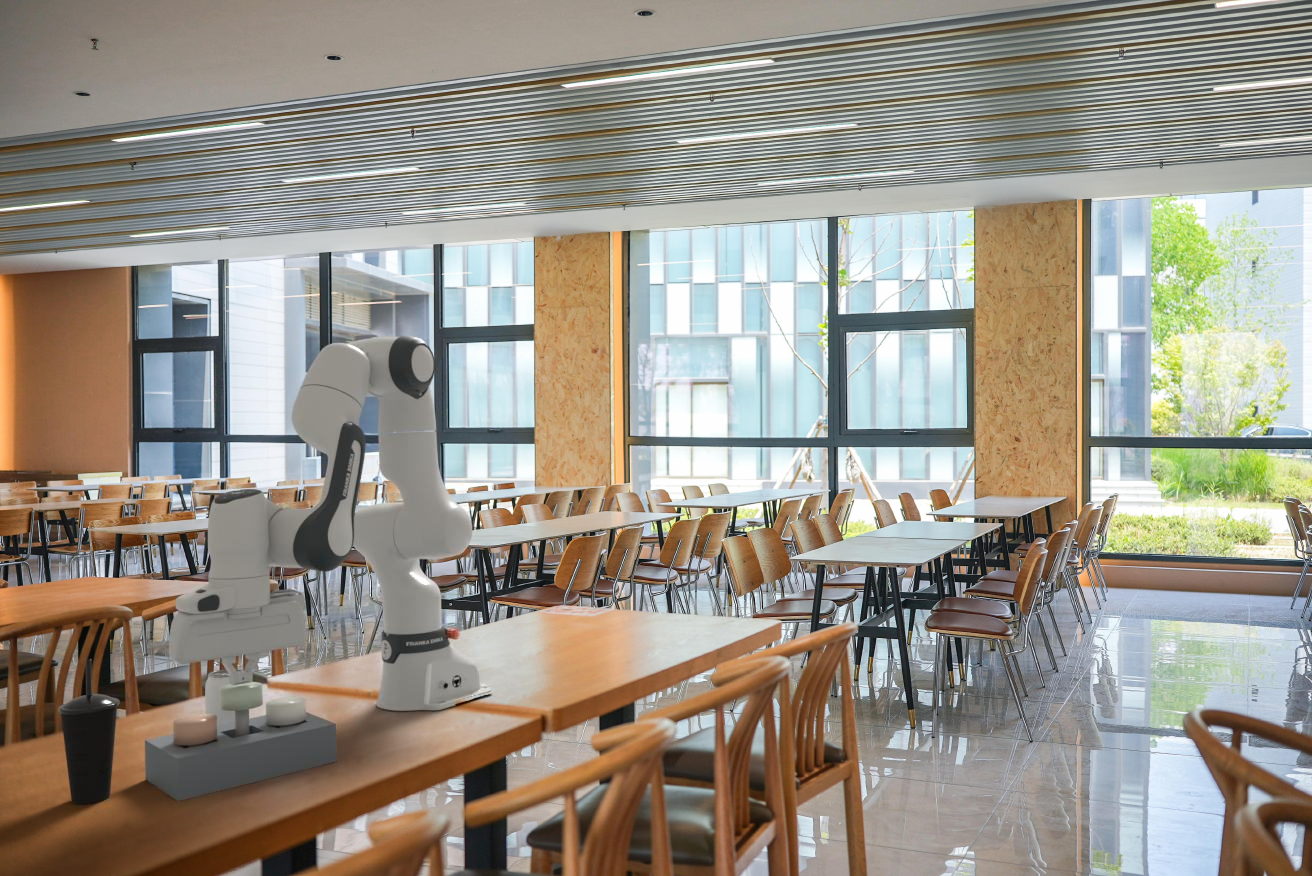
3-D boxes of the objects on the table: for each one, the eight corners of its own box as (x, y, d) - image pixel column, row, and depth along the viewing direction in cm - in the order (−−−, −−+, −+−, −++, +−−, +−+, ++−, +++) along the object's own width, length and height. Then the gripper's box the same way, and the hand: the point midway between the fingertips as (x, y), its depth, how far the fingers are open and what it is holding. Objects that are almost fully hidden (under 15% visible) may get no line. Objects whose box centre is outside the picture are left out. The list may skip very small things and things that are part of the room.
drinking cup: (56, 811, 139) (53, 667, 139) (64, 794, 146) (61, 657, 146) (118, 802, 142) (115, 661, 142) (123, 786, 149) (120, 652, 149)
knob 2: (296, 746, 165) (295, 694, 165) (313, 754, 160) (312, 700, 161) (260, 755, 161) (259, 701, 161) (276, 762, 156) (275, 708, 156)
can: (232, 749, 167) (230, 677, 167) (197, 748, 168) (196, 676, 168) (255, 738, 173) (254, 668, 173) (221, 737, 174) (220, 668, 175)
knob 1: (209, 766, 155) (208, 711, 155) (224, 775, 151) (223, 718, 151) (168, 776, 151) (167, 719, 151) (182, 785, 147) (181, 727, 147)
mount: (298, 744, 169) (297, 708, 169) (336, 761, 159) (336, 723, 159) (145, 779, 152) (144, 739, 152) (177, 800, 142) (177, 758, 142)
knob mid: (254, 733, 160) (253, 680, 160) (269, 740, 156) (268, 685, 156) (215, 741, 156) (214, 686, 156) (230, 749, 151) (229, 692, 152)
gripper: (295, 585, 165) (297, 669, 165) (164, 600, 151) (165, 692, 151) (312, 588, 161) (314, 674, 161) (178, 604, 147) (180, 698, 146)
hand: (241, 683), depth 156 cm, fingers closed
